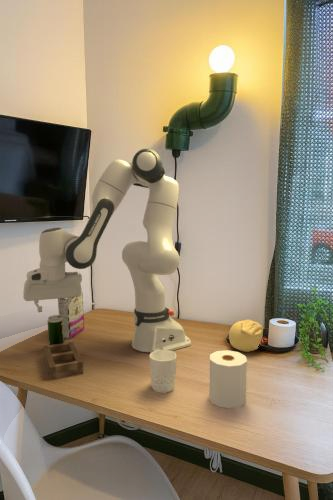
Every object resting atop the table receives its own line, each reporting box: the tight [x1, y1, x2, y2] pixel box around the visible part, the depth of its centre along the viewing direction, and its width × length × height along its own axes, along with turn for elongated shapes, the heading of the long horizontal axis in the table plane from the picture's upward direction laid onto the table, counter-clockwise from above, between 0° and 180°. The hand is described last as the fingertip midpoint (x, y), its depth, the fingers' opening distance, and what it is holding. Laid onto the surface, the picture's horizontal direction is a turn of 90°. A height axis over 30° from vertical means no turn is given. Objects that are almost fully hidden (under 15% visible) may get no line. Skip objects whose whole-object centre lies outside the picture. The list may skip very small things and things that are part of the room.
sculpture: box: [228, 319, 264, 353], centre depth 141 cm, size 12×12×11 cm
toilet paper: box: [208, 349, 248, 409], centre depth 107 cm, size 10×10×12 cm
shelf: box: [43, 341, 84, 381], centre depth 128 cm, size 10×18×4 cm, turn 24°
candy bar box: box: [57, 291, 85, 340], centre depth 156 cm, size 11×5×16 cm, turn 161°
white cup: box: [149, 350, 177, 394], centre depth 113 cm, size 8×8×10 cm
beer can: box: [47, 314, 65, 346], centre depth 141 cm, size 5×5×12 cm
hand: (53, 310), depth 140 cm, fingers open, 8 cm apart
